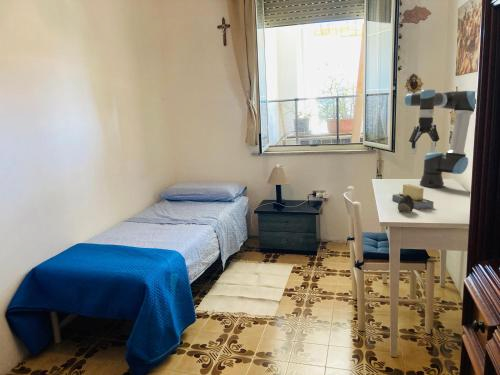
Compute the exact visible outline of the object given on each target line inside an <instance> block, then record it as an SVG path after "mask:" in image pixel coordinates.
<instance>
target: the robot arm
mask: <svg viewBox="0 0 500 375" xmlns="http://www.w3.org/2000/svg"><path fill="white" fill-rule="evenodd" d="M475 92H476V91H474V90H462V91H461V90H459V91H447V92H436V90H435V89H422V90H421V91H420V93H408V94H406V95H405V97H404V104H405V105H406V106H407V107H419V113H418V114H419V115H418V116H419V117H418V124H419V125H414V128H413V131H412V133H411V135H410V138H409V140H408V141H409V142H410V143H411V154H413V155H417V150H418V148H417V147H418V143H417V142H418V141H419V139H420V138H421V137H422V135H423V134H428V135H429V138H430V139H431V141H430V150H429V151H430V152H427V153H425V155H424V159H423V160H424V161H423V162H424V163H423V173H422V176H421V179H420V181H419V185H420V186H422V187H425V188H443V187H444V184H445V183H444V180H443V176H442V175H443V174H442V173H448V174H453V175H457V174H458V175H461V174H463V173H464V172H465V171H466V170H467V168H468V166H469V158H468V157H467V153H465V146H466V141H467V136H468V130H469V125H470V120H471V115H473V114H474V113H473V112H475V110H474V109H475V104H476V99H475ZM435 107H436V108H442V109H447V110H453V112H454V113H455V117H454V122H453V128H452V134H451V139H450V144H449V149H448V150H447V151H446V153H444V152H441V151H439V152H438V151H437V152H436V146H437V142H438V141H439V140H440V135H439V132H438V130H437V125H436V124H434V123H433V122H434V117H433V116H434V109H435Z"/></svg>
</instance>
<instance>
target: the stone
mask: <svg viewBox="0 0 500 375" xmlns="http://www.w3.org/2000/svg"><path fill="white" fill-rule="evenodd" d="M413 209H415V208H414V202H413V200H412V198H411V197H410V196H409V195H406V196H404V197H403V198H402V199H401V200H400V201H399V203H397V210H398V212H404V213H412V211H413Z"/></svg>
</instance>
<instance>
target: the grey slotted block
mask: <svg viewBox="0 0 500 375" xmlns="http://www.w3.org/2000/svg"><path fill="white" fill-rule="evenodd" d="M402 194H403V192H399V193H397V194H392V197H391V198H392V199H391V200H392V201H393V202H394V203H395V202H396V203H397V204H399V201H400V200H401V199H402V198H403V197H402ZM413 202H414V208H413V209H416V210H418V211H419V210H426V209H433V208H434V203H435V202H434V201H431V200H429V199H427V198H423V200H422V202H417V201H414V200H413Z"/></svg>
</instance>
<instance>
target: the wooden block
mask: <svg viewBox="0 0 500 375" xmlns="http://www.w3.org/2000/svg"><path fill="white" fill-rule="evenodd" d="M424 189H425V188H423V187H420V186H416V185H412V184H411V183H410V184H409V183H406V184H403V185H402V193H403V194H402V197H404V196H406V195H409V196H410V197H411V198H412V200H414V201H417V202H422V200H423V199H424Z"/></svg>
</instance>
